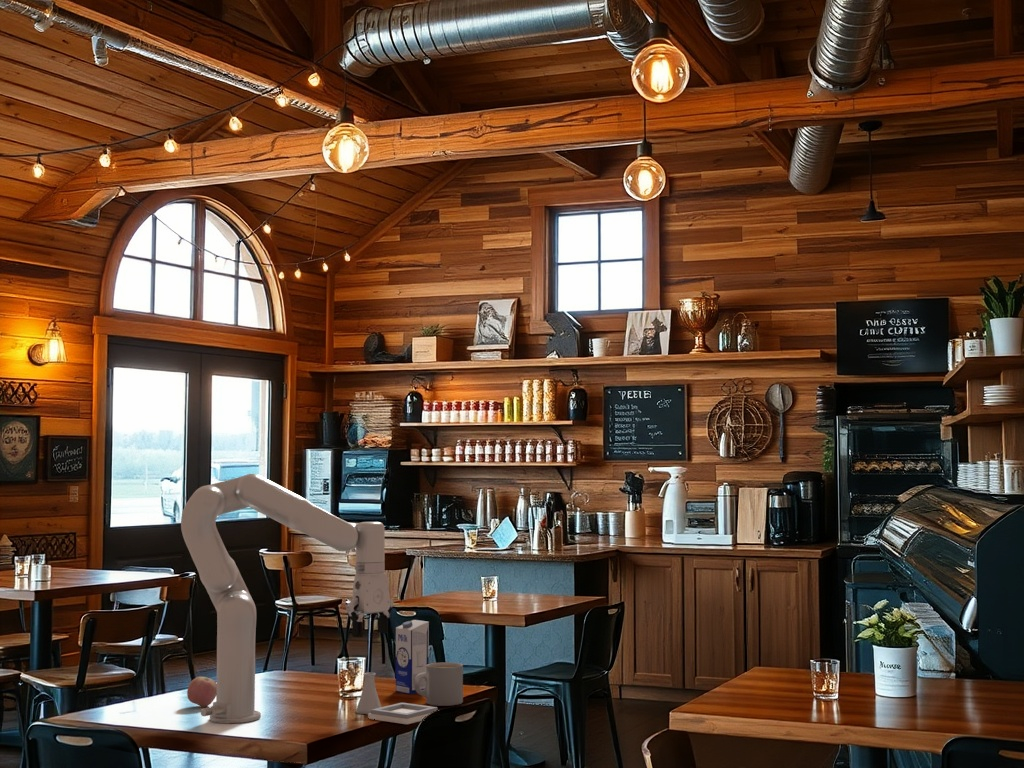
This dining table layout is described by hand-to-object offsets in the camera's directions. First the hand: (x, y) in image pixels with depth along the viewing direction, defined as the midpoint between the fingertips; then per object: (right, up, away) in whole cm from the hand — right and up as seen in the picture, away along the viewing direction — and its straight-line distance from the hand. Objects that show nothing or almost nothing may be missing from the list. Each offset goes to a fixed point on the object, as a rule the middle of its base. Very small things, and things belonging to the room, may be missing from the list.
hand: (370, 634), depth 314 cm
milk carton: (+8, -23, +29) cm, 38 cm away
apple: (-46, -21, +7) cm, 51 cm away
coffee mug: (+17, -21, +12) cm, 30 cm away
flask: (0, -20, -2) cm, 20 cm away
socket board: (+10, -19, -9) cm, 23 cm away
